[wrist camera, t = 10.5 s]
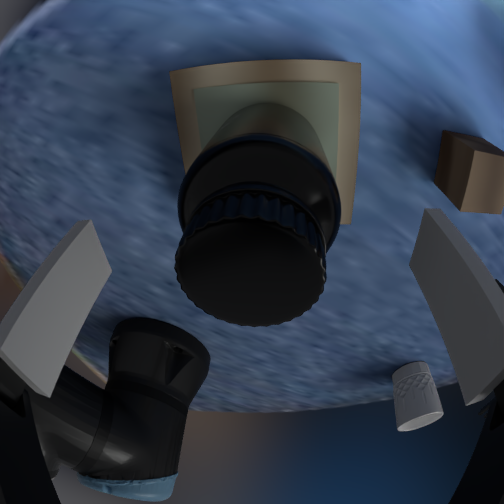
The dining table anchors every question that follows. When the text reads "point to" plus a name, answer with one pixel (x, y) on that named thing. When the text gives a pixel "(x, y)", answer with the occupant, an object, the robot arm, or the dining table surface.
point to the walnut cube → (471, 173)
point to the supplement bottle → (257, 218)
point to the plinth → (280, 92)
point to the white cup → (415, 396)
